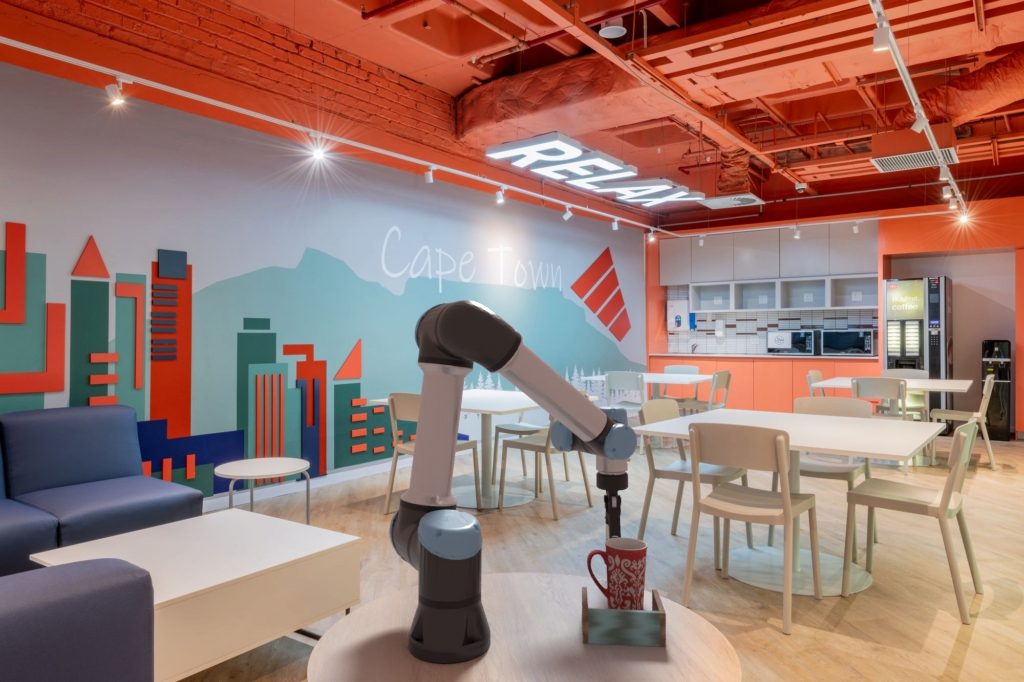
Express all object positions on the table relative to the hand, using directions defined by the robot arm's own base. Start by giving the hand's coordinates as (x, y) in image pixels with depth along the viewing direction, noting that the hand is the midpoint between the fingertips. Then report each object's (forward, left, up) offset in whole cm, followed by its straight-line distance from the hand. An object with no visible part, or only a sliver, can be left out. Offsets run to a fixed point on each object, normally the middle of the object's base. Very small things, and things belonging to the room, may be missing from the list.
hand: (613, 561), depth 153 cm
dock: (0, -28, -4) cm, 28 cm away
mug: (0, -18, -4) cm, 19 cm away
